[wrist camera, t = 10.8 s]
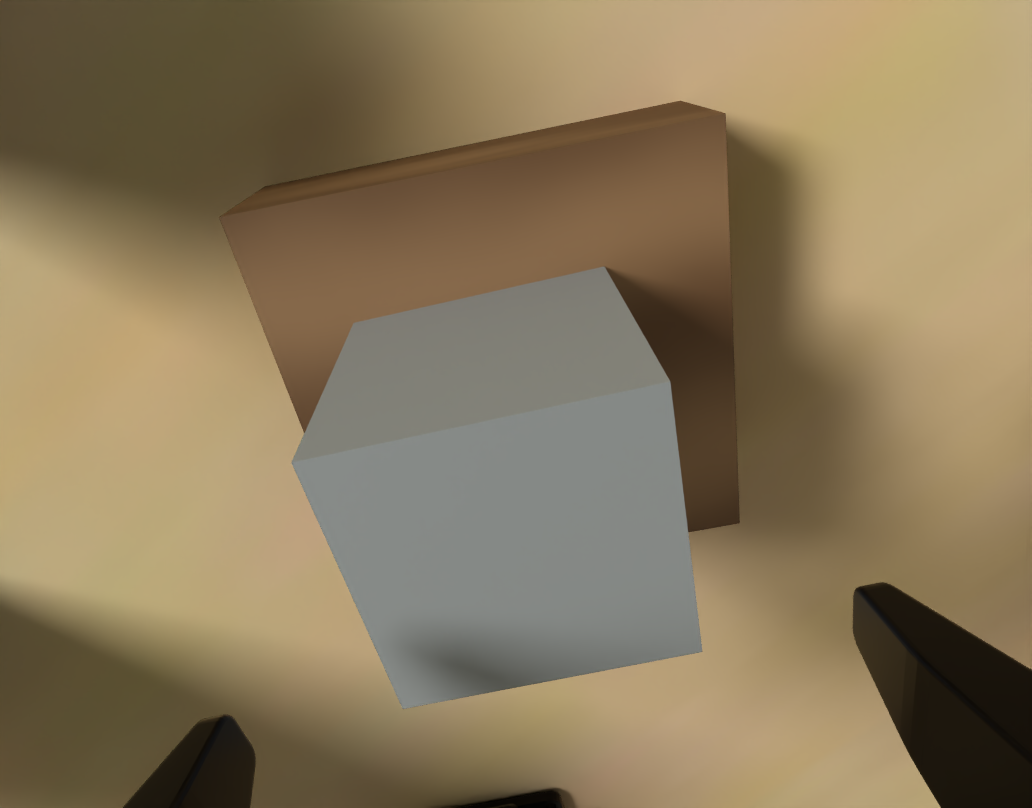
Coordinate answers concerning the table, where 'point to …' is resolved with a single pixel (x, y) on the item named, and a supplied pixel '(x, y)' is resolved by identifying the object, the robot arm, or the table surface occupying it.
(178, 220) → the table surface
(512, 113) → the table surface
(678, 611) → the slate cube
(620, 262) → the walnut block
